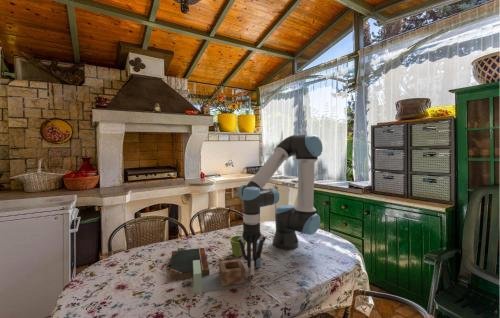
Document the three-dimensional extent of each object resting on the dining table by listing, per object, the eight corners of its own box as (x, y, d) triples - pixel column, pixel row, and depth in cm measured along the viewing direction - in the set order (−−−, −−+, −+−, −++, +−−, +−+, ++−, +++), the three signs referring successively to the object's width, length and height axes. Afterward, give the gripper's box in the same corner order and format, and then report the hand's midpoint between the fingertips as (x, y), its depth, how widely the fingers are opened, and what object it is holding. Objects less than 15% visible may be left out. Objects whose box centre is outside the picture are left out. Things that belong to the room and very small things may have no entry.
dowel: (259, 263, 125) (259, 240, 124) (261, 267, 121) (261, 243, 120) (251, 264, 124) (251, 241, 123) (253, 268, 120) (253, 244, 119)
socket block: (240, 271, 116) (240, 258, 116) (245, 282, 106) (245, 269, 106) (219, 274, 114) (218, 261, 113) (222, 286, 104) (222, 272, 104)
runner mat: (241, 270, 118) (241, 270, 118) (248, 285, 105) (248, 285, 105) (199, 276, 113) (199, 275, 113) (201, 293, 100) (201, 292, 100)
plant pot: (244, 259, 130) (244, 242, 129) (227, 257, 132) (227, 241, 131) (248, 251, 139) (248, 236, 138) (232, 250, 141) (232, 235, 140)
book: (172, 257, 133) (169, 282, 109) (171, 250, 133) (169, 274, 109) (204, 253, 138) (209, 276, 114) (204, 247, 138) (209, 268, 114)
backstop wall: (200, 277, 112) (199, 259, 112) (201, 292, 101) (201, 273, 100) (193, 278, 112) (192, 260, 111) (194, 293, 100) (193, 274, 100)
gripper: (262, 218, 116) (263, 267, 117) (235, 220, 113) (235, 271, 114) (268, 223, 109) (268, 275, 110) (239, 226, 105) (239, 280, 107)
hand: (251, 273), depth 112 cm, fingers closed
